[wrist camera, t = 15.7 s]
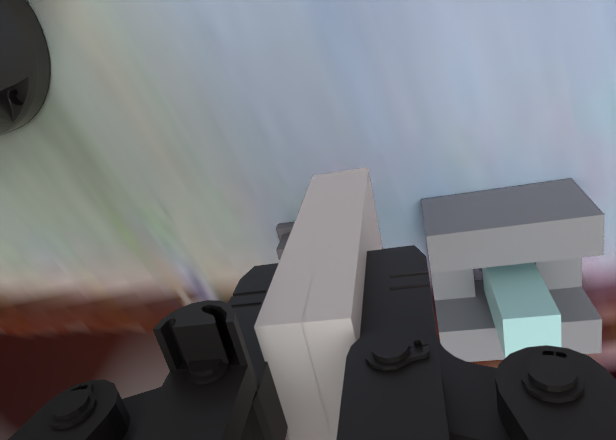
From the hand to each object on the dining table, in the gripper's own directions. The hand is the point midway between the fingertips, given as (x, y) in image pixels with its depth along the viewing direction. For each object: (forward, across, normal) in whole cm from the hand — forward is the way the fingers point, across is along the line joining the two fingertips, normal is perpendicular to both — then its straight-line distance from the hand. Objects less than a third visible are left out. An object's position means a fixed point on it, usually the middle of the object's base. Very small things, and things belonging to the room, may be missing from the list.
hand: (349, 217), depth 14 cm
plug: (+28, +8, -18) cm, 35 cm away
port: (+28, +8, -18) cm, 35 cm away
